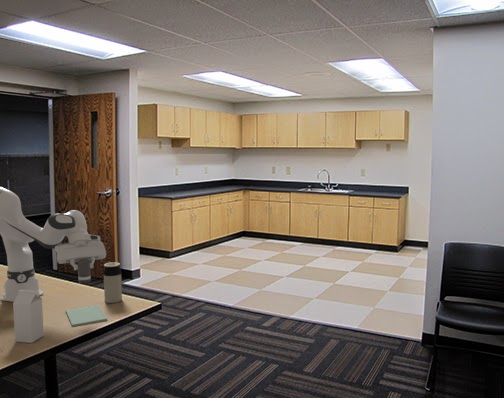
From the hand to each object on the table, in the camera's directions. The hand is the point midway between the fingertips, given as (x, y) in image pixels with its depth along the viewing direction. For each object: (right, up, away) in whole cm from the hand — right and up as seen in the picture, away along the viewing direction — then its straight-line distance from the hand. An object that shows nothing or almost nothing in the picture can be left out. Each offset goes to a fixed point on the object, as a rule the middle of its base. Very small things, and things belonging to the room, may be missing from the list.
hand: (84, 268), depth 197 cm
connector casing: (0, -6, +1) cm, 6 cm away
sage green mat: (0, -21, +3) cm, 21 cm away
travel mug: (+6, -19, +23) cm, 31 cm away
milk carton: (-13, -24, -21) cm, 35 cm away
